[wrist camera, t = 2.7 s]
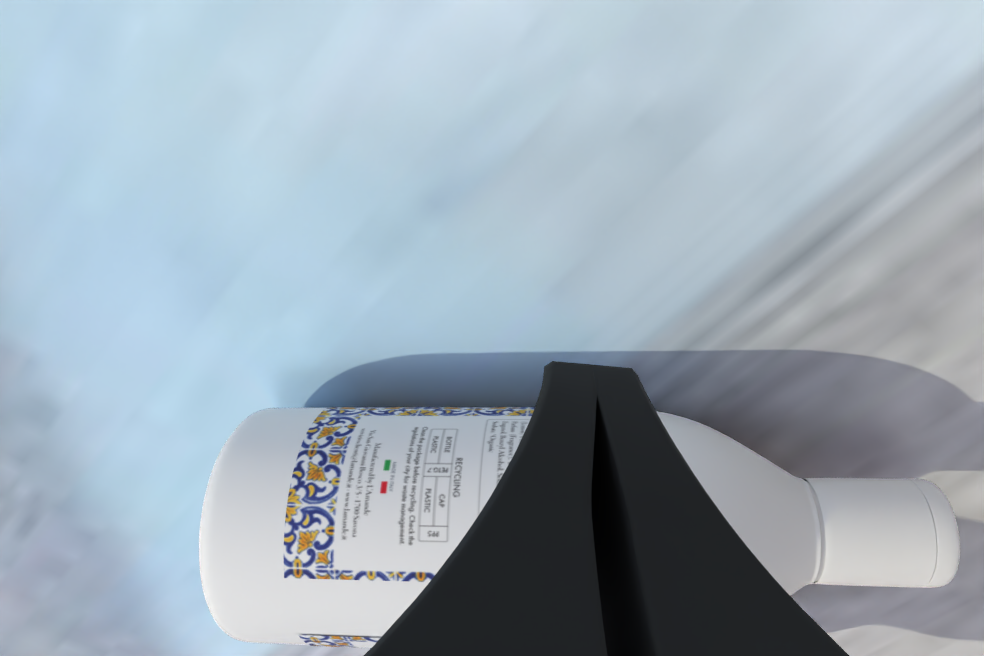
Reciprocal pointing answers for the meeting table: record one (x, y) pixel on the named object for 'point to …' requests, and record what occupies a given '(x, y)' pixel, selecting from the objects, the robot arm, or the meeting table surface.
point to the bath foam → (463, 494)
